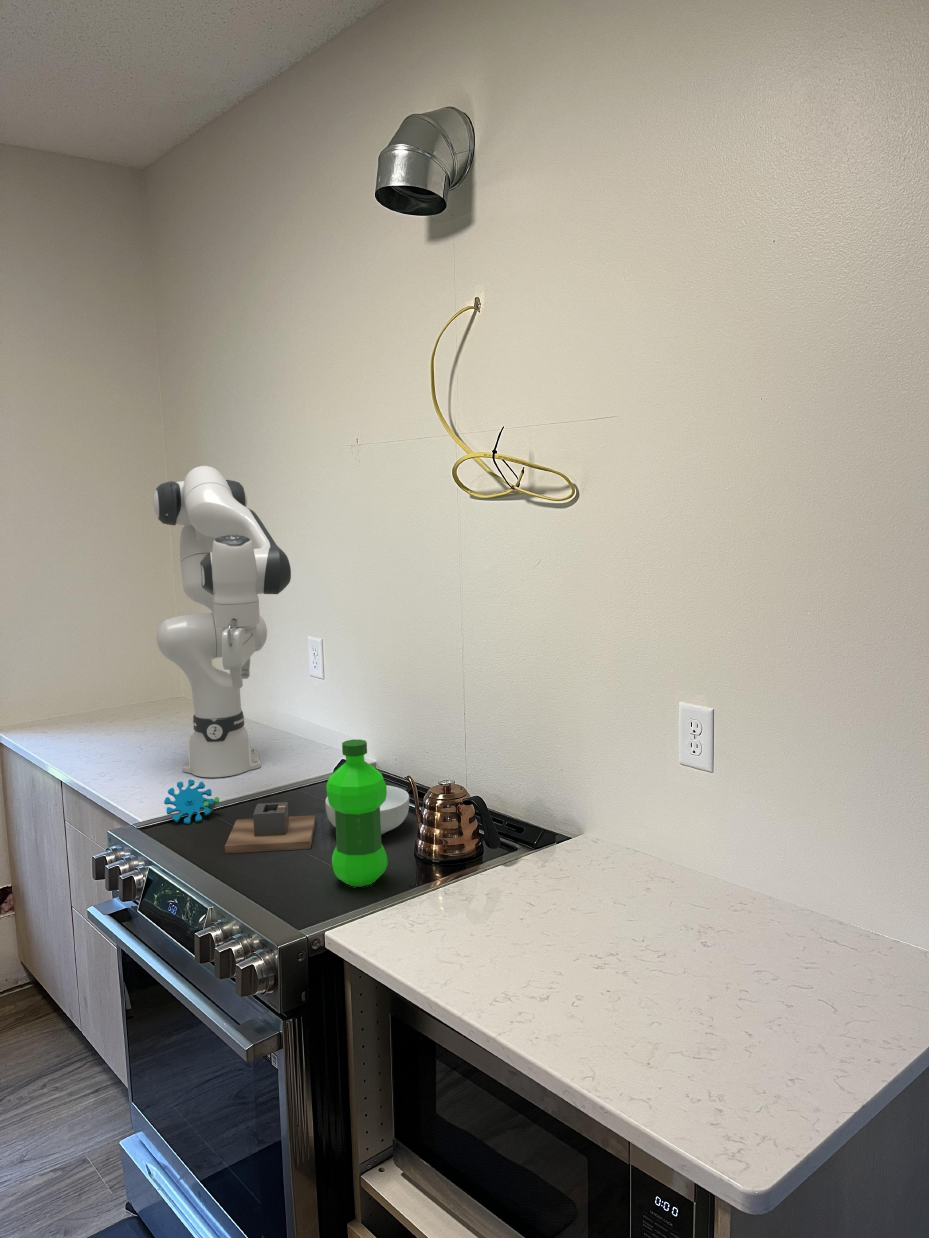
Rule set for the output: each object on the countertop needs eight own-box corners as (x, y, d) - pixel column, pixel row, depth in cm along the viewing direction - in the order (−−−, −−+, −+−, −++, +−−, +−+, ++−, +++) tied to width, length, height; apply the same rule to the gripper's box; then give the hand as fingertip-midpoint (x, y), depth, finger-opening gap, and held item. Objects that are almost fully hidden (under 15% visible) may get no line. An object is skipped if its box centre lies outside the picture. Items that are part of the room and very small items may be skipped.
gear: (161, 820, 188) (167, 776, 194) (161, 832, 193) (167, 789, 199) (217, 822, 191) (221, 778, 197) (216, 834, 195) (220, 791, 201)
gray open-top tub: (258, 825, 185) (257, 802, 184) (288, 823, 185) (287, 801, 184) (254, 836, 179) (252, 813, 178) (285, 834, 179) (284, 811, 178)
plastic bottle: (337, 868, 166) (331, 734, 163) (395, 869, 165) (390, 734, 161) (323, 893, 156) (316, 751, 153) (384, 894, 155) (378, 751, 152)
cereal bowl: (388, 851, 174) (387, 815, 173) (311, 841, 180) (309, 806, 178) (423, 819, 189) (422, 786, 188) (351, 811, 195) (349, 779, 194)
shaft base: (237, 826, 188) (236, 819, 188) (315, 822, 190) (315, 815, 189) (225, 853, 174) (224, 845, 174) (310, 848, 176) (309, 841, 176)
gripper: (245, 623, 176) (249, 693, 178) (259, 608, 196) (263, 672, 198) (211, 624, 176) (216, 694, 178) (229, 610, 196) (234, 673, 198)
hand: (241, 682), depth 188 cm, fingers open, 8 cm apart
